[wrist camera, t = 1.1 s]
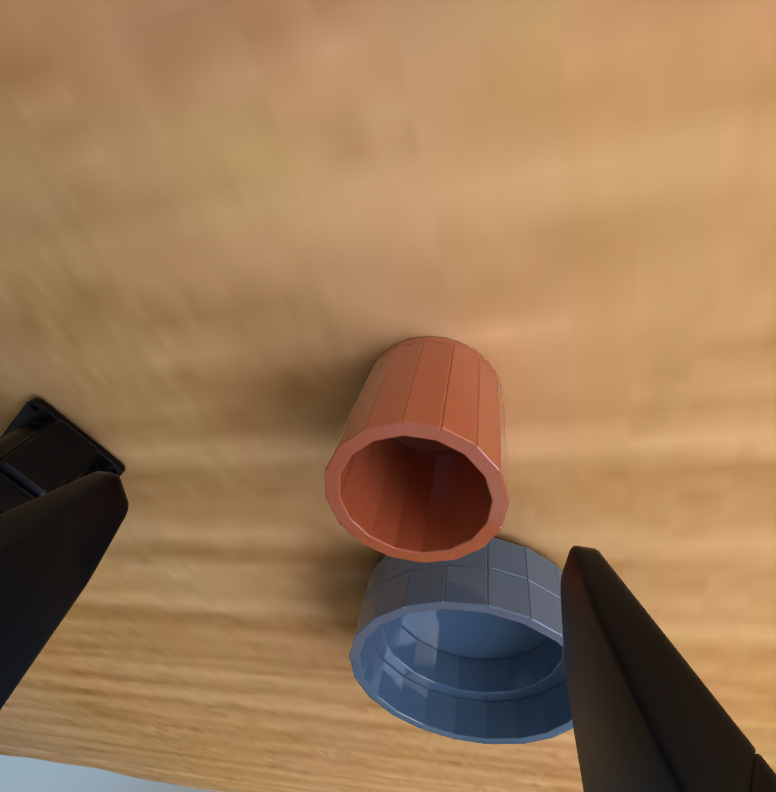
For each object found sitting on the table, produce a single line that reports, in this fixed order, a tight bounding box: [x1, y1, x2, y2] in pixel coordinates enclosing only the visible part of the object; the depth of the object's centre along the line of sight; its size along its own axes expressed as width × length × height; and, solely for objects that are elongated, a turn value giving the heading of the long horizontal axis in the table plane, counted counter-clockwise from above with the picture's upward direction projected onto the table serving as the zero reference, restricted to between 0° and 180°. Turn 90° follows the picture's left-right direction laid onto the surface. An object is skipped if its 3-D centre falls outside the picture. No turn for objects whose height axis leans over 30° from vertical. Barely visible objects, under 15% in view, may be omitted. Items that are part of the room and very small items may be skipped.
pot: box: [325, 337, 509, 563], centre depth 20 cm, size 7×7×7 cm
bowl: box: [349, 537, 573, 744], centre depth 28 cm, size 13×13×5 cm
